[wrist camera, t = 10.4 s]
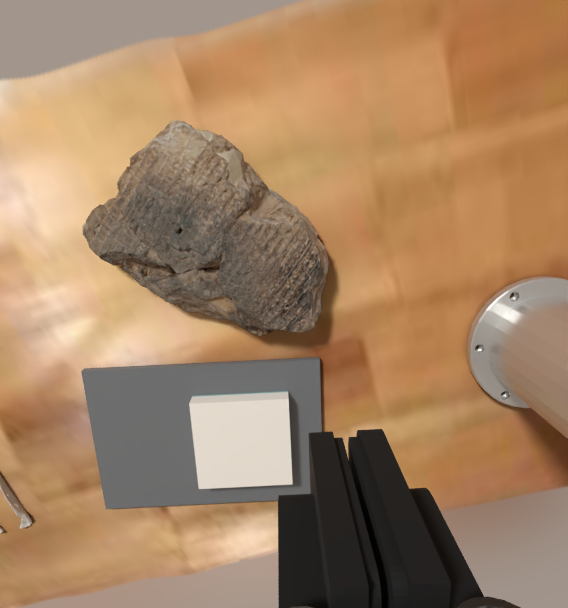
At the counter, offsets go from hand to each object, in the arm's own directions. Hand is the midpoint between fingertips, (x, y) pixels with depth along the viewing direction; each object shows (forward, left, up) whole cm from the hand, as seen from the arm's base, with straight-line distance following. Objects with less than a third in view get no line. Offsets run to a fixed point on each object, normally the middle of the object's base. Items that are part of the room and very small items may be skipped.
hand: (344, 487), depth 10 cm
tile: (+10, +16, -28) cm, 34 cm away
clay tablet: (+6, -2, -30) cm, 30 cm away
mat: (+9, +16, -29) cm, 34 cm away
